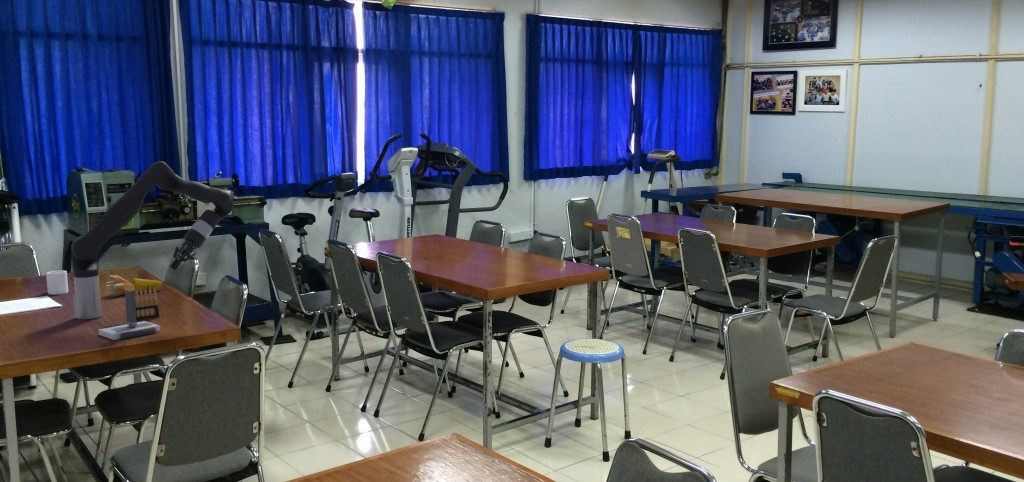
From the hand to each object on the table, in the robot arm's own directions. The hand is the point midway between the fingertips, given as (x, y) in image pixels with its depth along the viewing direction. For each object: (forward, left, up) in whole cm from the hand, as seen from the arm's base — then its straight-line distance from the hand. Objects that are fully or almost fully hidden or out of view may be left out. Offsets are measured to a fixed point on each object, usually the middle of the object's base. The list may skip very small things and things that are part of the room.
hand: (172, 268), depth 349 cm
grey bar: (-16, -12, -22) cm, 30 cm away
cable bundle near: (-3, -20, -22) cm, 30 cm away
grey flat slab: (-9, -16, -22) cm, 29 cm away
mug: (-91, +49, -22) cm, 106 cm away
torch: (-53, +52, -23) cm, 77 cm away
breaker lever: (-9, -15, -20) cm, 27 cm away
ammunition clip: (-18, +7, -23) cm, 30 cm away
